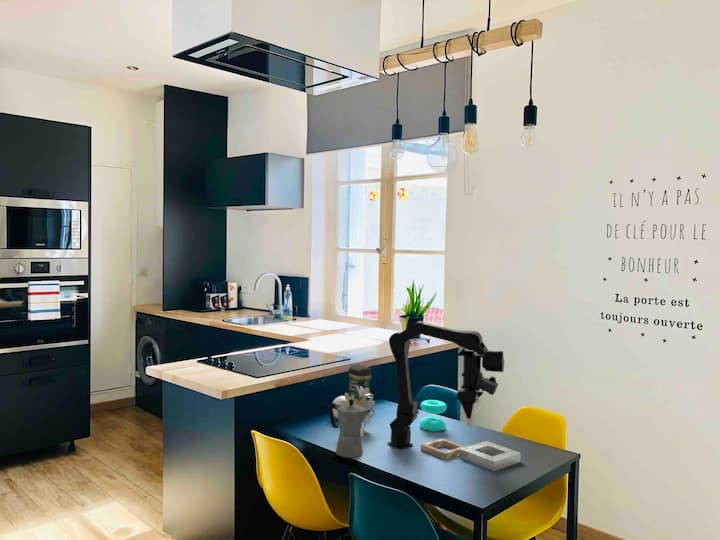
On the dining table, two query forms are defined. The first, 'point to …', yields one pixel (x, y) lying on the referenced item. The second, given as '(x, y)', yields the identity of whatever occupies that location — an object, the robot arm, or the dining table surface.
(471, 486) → the dining table surface
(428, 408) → the donuts
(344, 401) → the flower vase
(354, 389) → the coffee jar
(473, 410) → the lightbulb
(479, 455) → the socket
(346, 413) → the coffeepot
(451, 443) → the wooden picture frame
